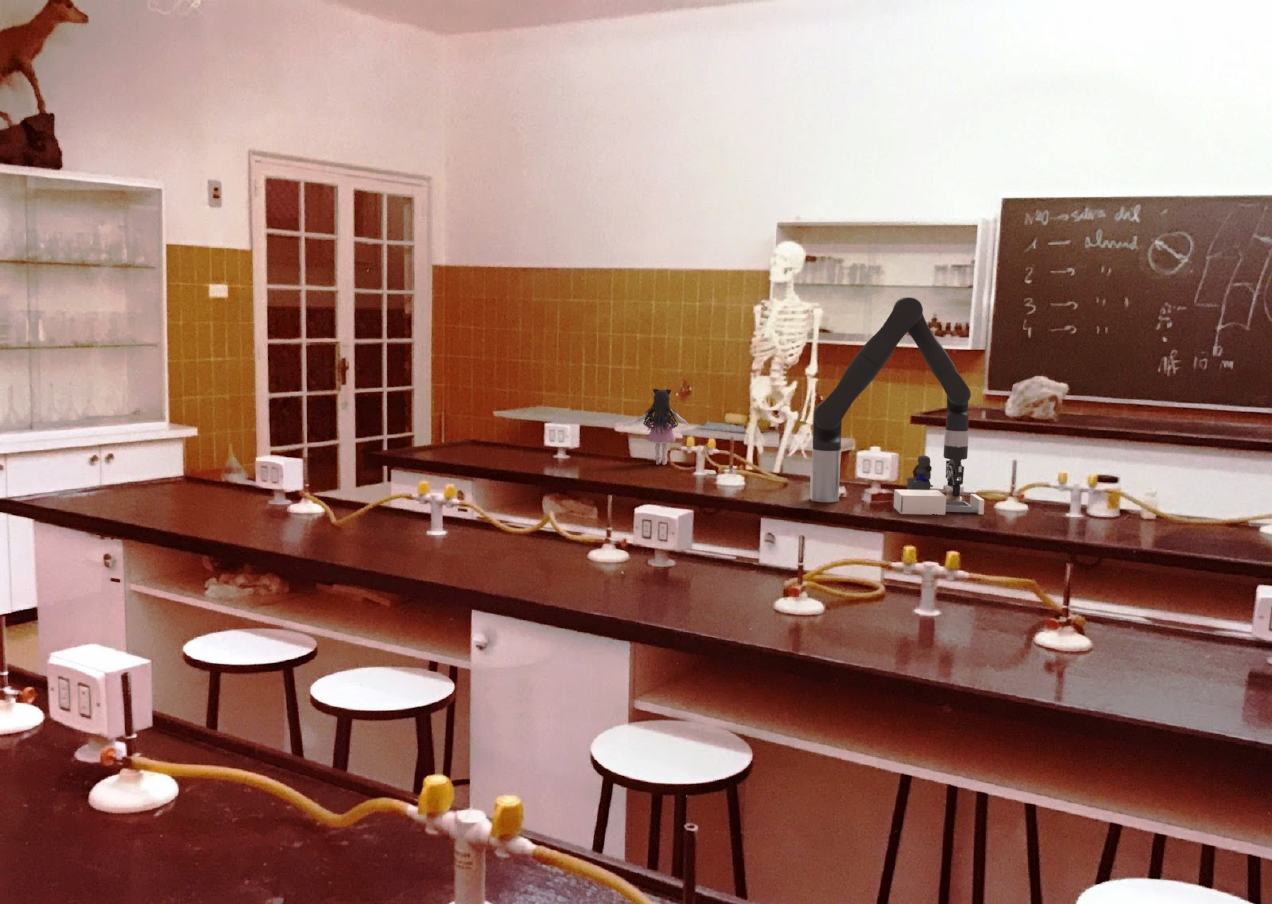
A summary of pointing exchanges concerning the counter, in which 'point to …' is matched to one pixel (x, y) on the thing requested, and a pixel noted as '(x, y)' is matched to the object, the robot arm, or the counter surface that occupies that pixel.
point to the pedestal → (951, 497)
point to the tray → (966, 505)
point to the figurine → (661, 423)
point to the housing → (919, 502)
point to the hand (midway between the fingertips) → (953, 494)
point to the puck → (951, 488)
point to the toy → (921, 475)
